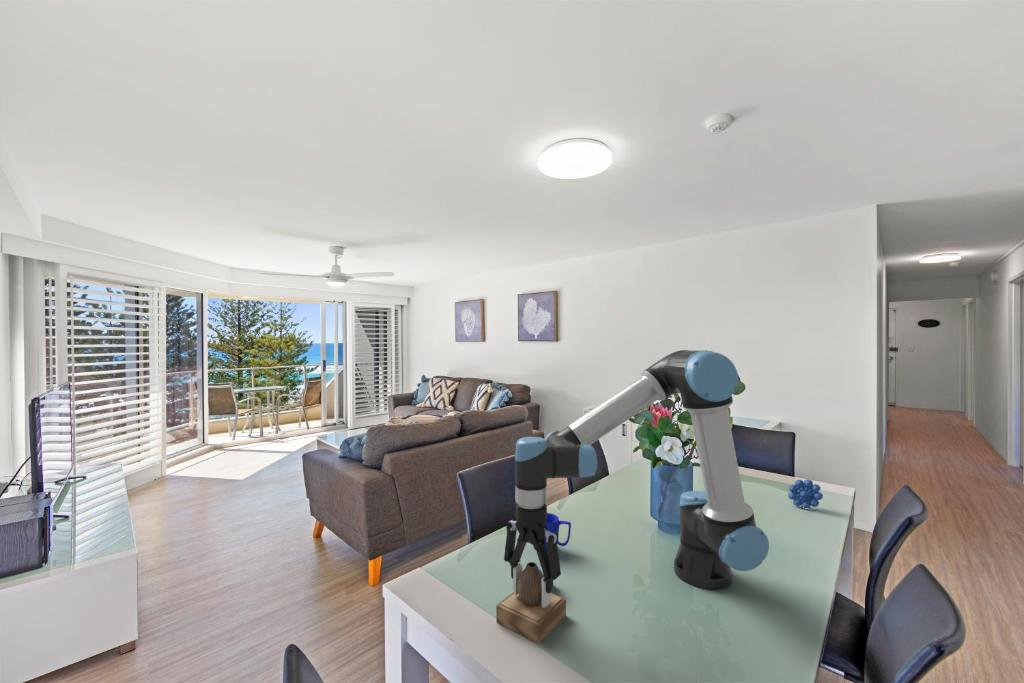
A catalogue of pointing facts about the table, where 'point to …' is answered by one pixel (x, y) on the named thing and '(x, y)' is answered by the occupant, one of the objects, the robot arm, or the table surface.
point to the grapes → (805, 493)
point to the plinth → (530, 616)
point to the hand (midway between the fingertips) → (531, 598)
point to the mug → (556, 527)
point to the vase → (530, 584)
